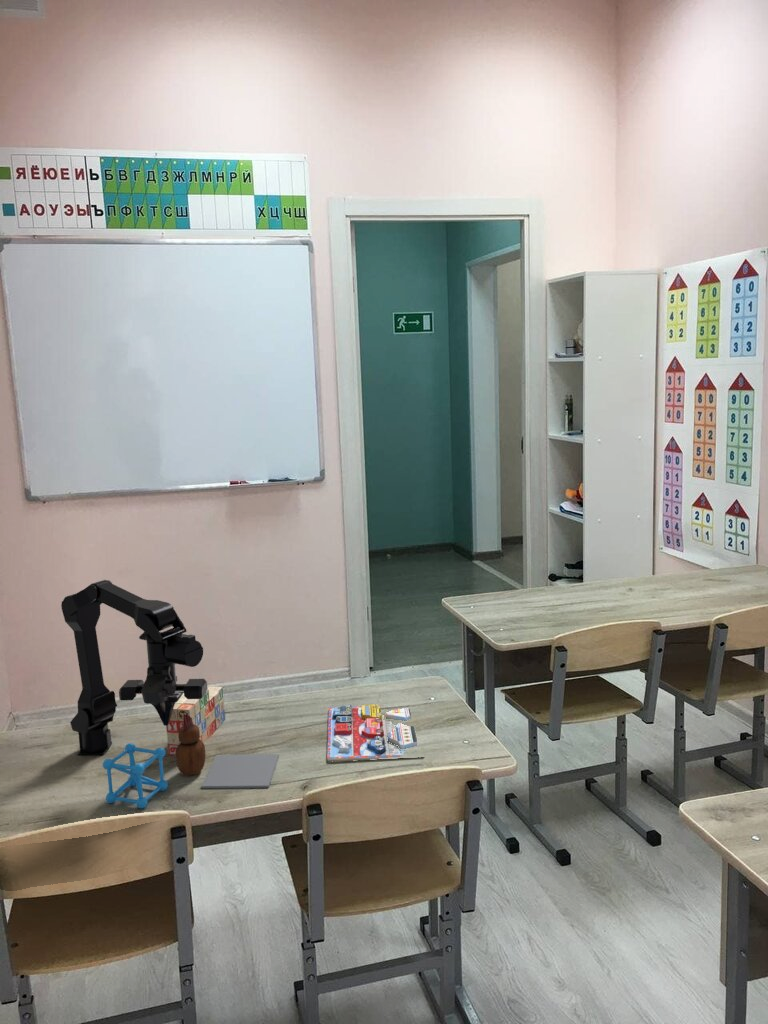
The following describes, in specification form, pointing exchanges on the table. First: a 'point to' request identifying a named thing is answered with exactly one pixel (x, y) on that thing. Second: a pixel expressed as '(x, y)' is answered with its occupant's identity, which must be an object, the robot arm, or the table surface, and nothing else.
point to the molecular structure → (135, 775)
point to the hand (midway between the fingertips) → (166, 724)
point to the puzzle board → (367, 733)
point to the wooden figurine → (190, 749)
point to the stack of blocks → (197, 716)
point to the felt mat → (241, 771)
